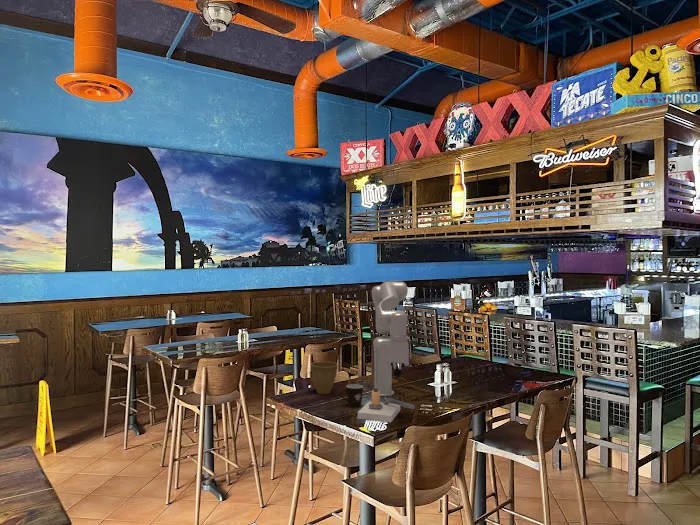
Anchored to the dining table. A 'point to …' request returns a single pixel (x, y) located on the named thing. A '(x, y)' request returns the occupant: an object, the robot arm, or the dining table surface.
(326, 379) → the plant pot
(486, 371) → the dining table surface
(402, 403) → the clip
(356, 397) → the coffee mug
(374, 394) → the plug
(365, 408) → the socket board
